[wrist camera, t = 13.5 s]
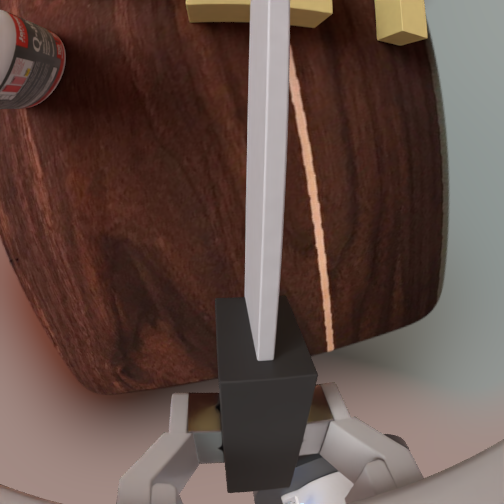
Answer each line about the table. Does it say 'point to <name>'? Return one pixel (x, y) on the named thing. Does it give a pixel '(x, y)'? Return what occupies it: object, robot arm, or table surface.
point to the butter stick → (238, 10)
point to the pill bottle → (28, 62)
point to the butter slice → (400, 21)
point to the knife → (264, 288)
